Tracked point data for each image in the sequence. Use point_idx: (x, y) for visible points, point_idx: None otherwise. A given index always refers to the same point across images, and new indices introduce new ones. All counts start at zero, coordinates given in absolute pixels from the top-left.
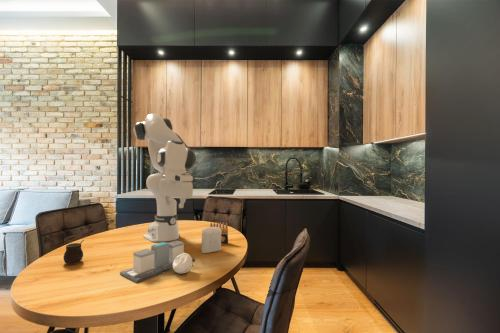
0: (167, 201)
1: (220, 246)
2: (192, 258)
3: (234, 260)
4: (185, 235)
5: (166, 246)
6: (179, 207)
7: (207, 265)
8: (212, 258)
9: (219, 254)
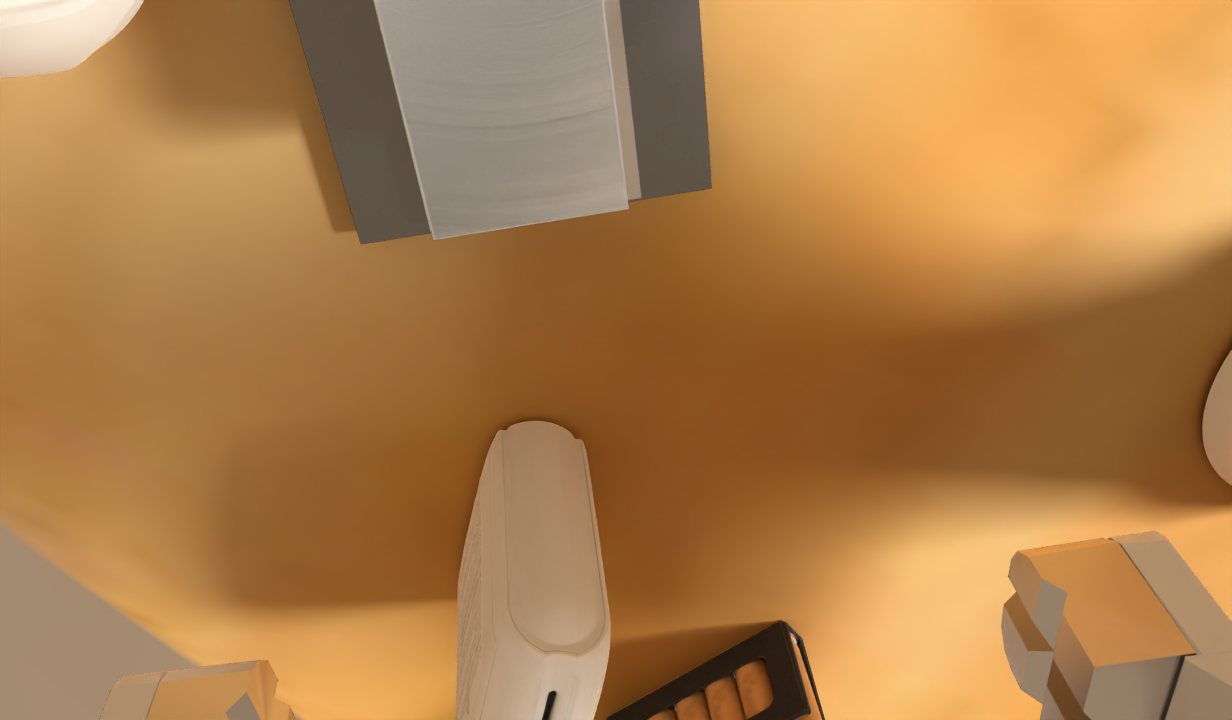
0: (1145, 693)
1: (457, 618)
2: (380, 226)
3: (91, 539)
4: (1222, 566)
5: None
6: (172, 676)
7: (113, 264)
8: (298, 414)
9: (367, 523)
